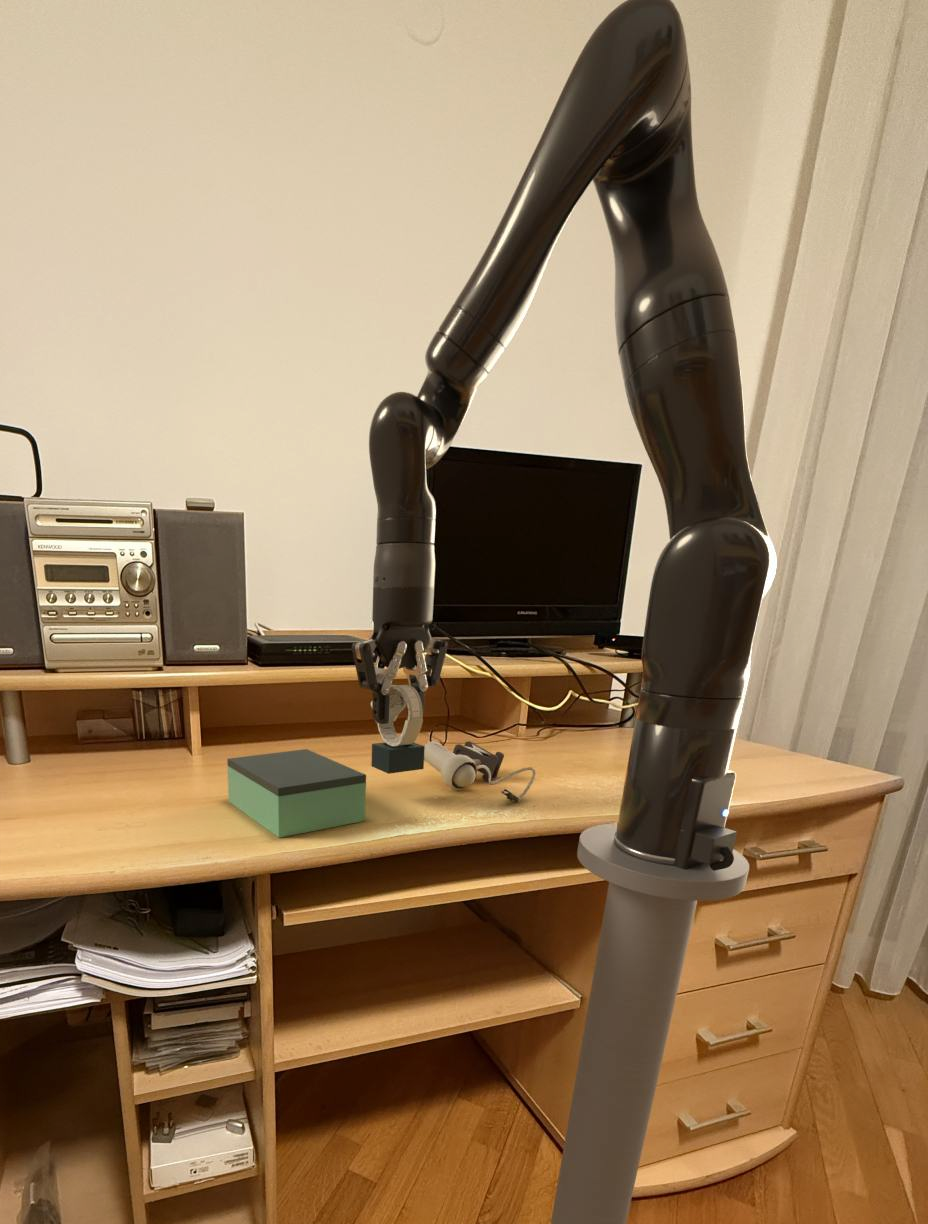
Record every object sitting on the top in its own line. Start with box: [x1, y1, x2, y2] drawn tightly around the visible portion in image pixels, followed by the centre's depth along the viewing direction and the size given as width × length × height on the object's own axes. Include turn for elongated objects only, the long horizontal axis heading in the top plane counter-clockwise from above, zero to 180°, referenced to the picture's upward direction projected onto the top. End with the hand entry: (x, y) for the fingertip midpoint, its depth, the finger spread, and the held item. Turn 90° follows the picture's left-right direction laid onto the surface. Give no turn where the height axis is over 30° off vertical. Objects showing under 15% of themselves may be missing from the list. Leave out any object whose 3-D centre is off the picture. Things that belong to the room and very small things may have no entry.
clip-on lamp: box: [424, 740, 536, 803], centre depth 92 cm, size 12×6×18 cm
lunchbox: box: [226, 748, 367, 839], centre depth 81 cm, size 15×12×6 cm
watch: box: [370, 684, 425, 775], centre depth 83 cm, size 6×8×11 cm
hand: (398, 720), depth 83 cm, fingers closed on watch, 4 cm apart
